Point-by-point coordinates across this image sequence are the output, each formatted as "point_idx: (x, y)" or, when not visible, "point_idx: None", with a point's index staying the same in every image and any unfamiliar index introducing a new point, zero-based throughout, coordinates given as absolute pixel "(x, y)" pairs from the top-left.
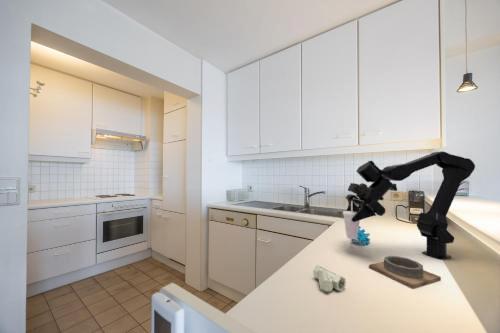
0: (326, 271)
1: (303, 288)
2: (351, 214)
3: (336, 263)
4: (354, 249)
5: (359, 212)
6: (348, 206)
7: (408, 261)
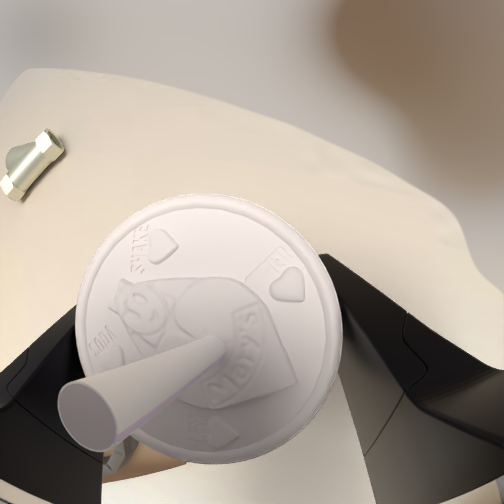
0: (23, 154)
1: (37, 125)
2: (88, 283)
3: (134, 210)
4: None
5: (18, 363)
6: (439, 353)
7: (106, 462)
